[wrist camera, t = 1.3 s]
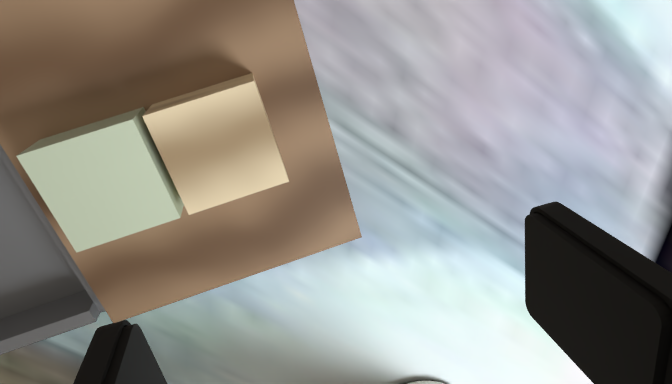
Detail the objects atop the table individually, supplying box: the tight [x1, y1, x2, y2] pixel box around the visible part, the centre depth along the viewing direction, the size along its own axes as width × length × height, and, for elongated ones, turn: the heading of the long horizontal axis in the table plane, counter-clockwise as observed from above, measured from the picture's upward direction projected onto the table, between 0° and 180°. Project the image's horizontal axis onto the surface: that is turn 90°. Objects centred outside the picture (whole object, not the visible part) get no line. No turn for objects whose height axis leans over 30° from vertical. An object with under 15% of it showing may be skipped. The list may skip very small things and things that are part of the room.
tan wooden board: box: [0, 0, 362, 323], centre depth 29 cm, size 20×18×5 cm
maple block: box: [142, 73, 289, 215], centre depth 26 cm, size 6×6×3 cm
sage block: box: [16, 107, 184, 253], centre depth 25 cm, size 6×6×3 cm
